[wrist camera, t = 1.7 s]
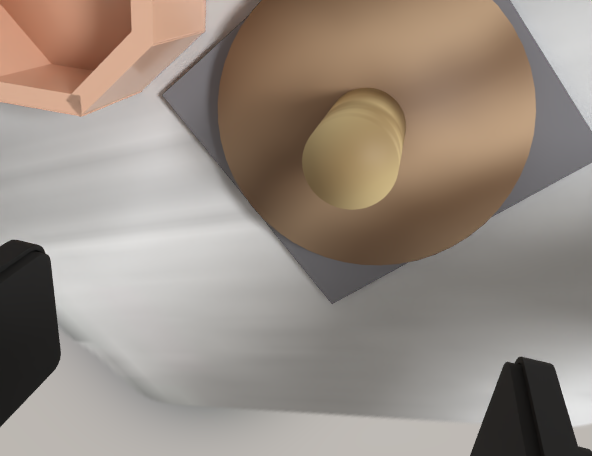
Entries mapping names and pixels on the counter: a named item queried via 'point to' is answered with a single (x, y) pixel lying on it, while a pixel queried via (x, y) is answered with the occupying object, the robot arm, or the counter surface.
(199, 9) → the bowl
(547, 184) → the mat
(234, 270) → the counter surface
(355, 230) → the lid
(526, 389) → the robot arm
